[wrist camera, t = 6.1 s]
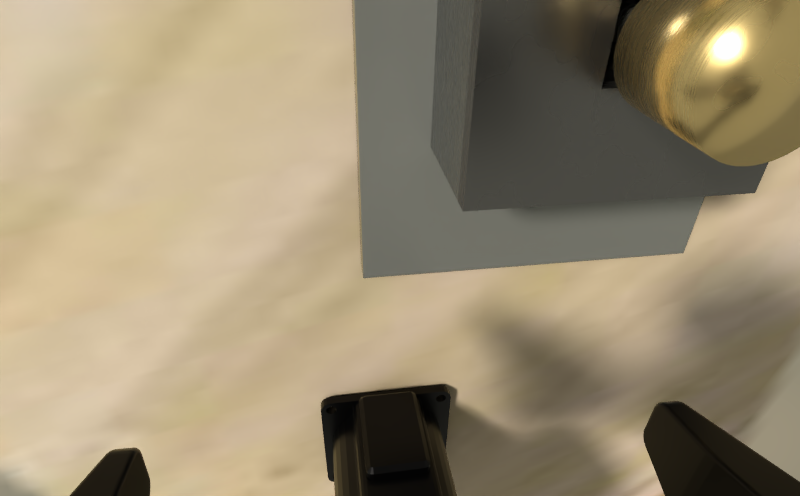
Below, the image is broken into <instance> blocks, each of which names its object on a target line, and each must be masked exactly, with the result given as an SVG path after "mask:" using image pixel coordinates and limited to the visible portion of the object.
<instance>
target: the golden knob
mask: <svg viewBox="0 0 800 496" xmlns="http://www.w3.org/2000/svg"><path fill="white" fill-rule="evenodd" d="M606 70H614V77H615V82H616V85H617V88H618V90H619V92H620V94H621V95H622V97H623V98H624V99H625V101H626V102H627V103H628V104H630V105H631V106H632V107H633V108H635V109H636V110H638V111H640V112H641V113H643V114H644V115H646V116H647V117H649V118H650V119H652V120H654V121H655V122H657V123H658V124H660V125H661V126H663V127H665V128H666V129H668V130H669V131H671V132H672V133H674V134H675V135H677V136H679V137H680V138H682V139H683V140H685V141H686V142H688V143H690V144H691V145H693V146H694V147H696V148H697V149H699V150H701V151H702V152H704V153H705V154H707V155H708V156H710V157H711V158H713V159H715V160H717V161H718V162H721V163H724V164H727V165H731V166H754V165H759V164H763V163H767V162H770V161H773V160H776V159H778V158H780V157H782V156H784V155H787V154H788V153H790V152H792V151H794V150H795V149H797V148H799V147H800V0H621V5H620V9H619V14H618V18H617V23H616V27H615V31H614V36H613V40H612V45H611V49H610V53H609V58H608V62H607V67H606Z"/></svg>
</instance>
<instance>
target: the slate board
mask: <svg viewBox="0 0 800 496" xmlns="http://www.w3.org/2000/svg"><path fill="white" fill-rule="evenodd" d="M437 4H438V0H352V12H353V41H354V70H355V99H356V128H357V157H358V186H359V215H360V244H361V266H362V273H363V278H371V277H384V276H397V275H410V274H422V273H435V272H448V271H461V270H473V269H486V268H499V267H512V266H524V265H537V264H550V263H563V262H575V261H588V260H601V259H614V258H627V257H639V256H652V255H665V254H678V253H683V252H684V250H685V247H686V245H687V242H688V239H689V237H690V234H691V231H692V229H693V226H694V223H695V221H696V218H697V216H698V213H699V210H700V208H701V205H702V202H703V200H704V197H705V196H699V197H683V198H668V199H652V200H636V201H620V202H604V203H589V204H573V205H557V206H541V207H526V208H510V209H494V210H478V211H462V209H461V207H460V205H459V203H458V201H457V199H456V197H455V195H454V193H453V191H452V189H451V187H450V185H449V183H448V181H447V179H446V177H445V175H444V173H443V171H442V169H441V167H440V165H439V163H438V161H437V159H436V157H435V155H434V153H433V151H432V149H431V128H432V107H433V86H434V66H435V45H436V24H437ZM603 81H615V77H614V70H606V71H605V76H604V80H603Z"/></svg>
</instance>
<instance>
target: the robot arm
mask: <svg viewBox="0 0 800 496" xmlns="http://www.w3.org/2000/svg"><path fill="white" fill-rule="evenodd" d="M450 398H451V397H450V393H449V389H448V388H447V387H446V386H441V385H439V386H430V387H421V388H411V389H402V390H393V391H383V392H374V393H365V394H355V395H346V396H337V397H329V398H326V399H324V400H323V401H322V402H321V415H322V424H323V434H324V443H325V453H326V462H327V471H328V478H329V480H330V481H333V482H334V485H335V496H457V494H456V490H455V486H454V482H453V478H452V474H451V470H450V466H449V462H448V458H447V454H446V450H445V449H446V439H447V429H448V418H449V408H450ZM644 443H645V446H646V448H647V451H648V453H649V456H650V459H651V461H652V464H653V466H654V469H655V471H656V474H657V476H658V479H659V481H660V484H661V486H662V489H663V492H664V494H665V496H800V482H799V481H798V480H796V479H795V478H793V477H792V476H790V475H789V474H787V473H786V472H784V471H783V470H781V469H780V468H778V467H777V466H775V465H774V464H772V463H771V462H770V461H768V460H767V459H765V458H764V457H762V456H761V455H759V454H758V453H756V452H755V451H753V450H752V449H751V448H749V447H748V446H746V445H745V444H743V443H742V442H740V441H739V440H737V439H736V438H734V437H733V436H731V435H730V434H728V433H727V432H726V431H724V430H723V429H721V428H720V427H718V426H717V425H715V424H714V423H712V422H711V421H709V420H708V419H706V418H705V417H703V416H702V415H701V414H699V413H698V412H696V411H695V410H693V409H692V408H690V407H689V406H687V405H686V404H684V403H682V402H679V401H670V402H660V403H658V404H657V405H656V406H655V407H654V410H653V412H652V414H651V416H650V418H649V421H648V423H647V425H646V427H645V429H644ZM70 496H150V478H149V475H148V472H147V469H146V466H145V463H144V460H143V457H142V454H141V452H140V450H139V449H137V448H125V449H115V450H112V451H110V452H109V453H107V454H106V455H105V456H104V457H103V459H102V460H101V461H100V462H99V463H98V464H97V465H96V466H95V468H94V469H93V470H92V471H91V472H90V473H89V474H88V475H87V477H86V478H85V479H84V480H83V481H82V482H81V483H80V484H79V486H78V487H77V488H76V489H75V490H74V491H73V492H72V494H71V495H70Z"/></svg>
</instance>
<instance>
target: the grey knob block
mask: <svg viewBox="0 0 800 496" xmlns="http://www.w3.org/2000/svg"><path fill="white" fill-rule="evenodd" d="M620 5H621V0H438V4H437V24H436V45H435V66H434V86H433V107H432V128H431V149H432V151H433V153H434V155H435V157H436V159H437V161H438V163H439V165H440V167H441V169H442V171H443V173H444V175H445V177H446V179H447V181H448V183H449V185H450V187H451V189H452V191H453V193H454V195H455V197H456V199H457V201H458V203H459V205H460V207H461V209H462V211H478V210H494V209H510V208H526V207H541V206H557V205H573V204H589V203H604V202H620V201H636V200H652V199H668V198H683V197H699V196H715V195H731V194H746V193H755V192H756V190H757V187H758V185H759V183H760V181H761V178H762V176H763V174H764V171H765V169H766V167H767V164H768V162H767V163H763V164H759V165H754V166H731V165H727V164H724V163H721V162H718V161H717V160H715V159H713V158H711V157H710V156H708V155H707V154H705V153H704V152H702V151H701V150H699V149H697V148H696V147H694V146H693V145H691V144H690V143H688V142H686V141H685V140H683V139H682V138H680V137H679V136H677V135H675V134H674V133H672V132H671V131H669V130H668V129H666V128H665V127H663V126H661V125H660V124H658V123H657V122H655V121H654V120H652V119H650V118H649V117H647V116H646V115H644V114H643V113H641V112H640V111H638V110H636V109H635V108H633V107H632V106H631V105H630V104H628V103H627V102H626V101H625V99H624V98H623V97H622V95H621V94H620V92H619V90H618V88H617V85H616V82H615V81H603V80H604V76H605V71H606V67H607V62H608V58H609V53H610V49H611V45H612V40H613V36H614V31H615V27H616V23H617V18H618V14H619V9H620Z"/></svg>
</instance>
